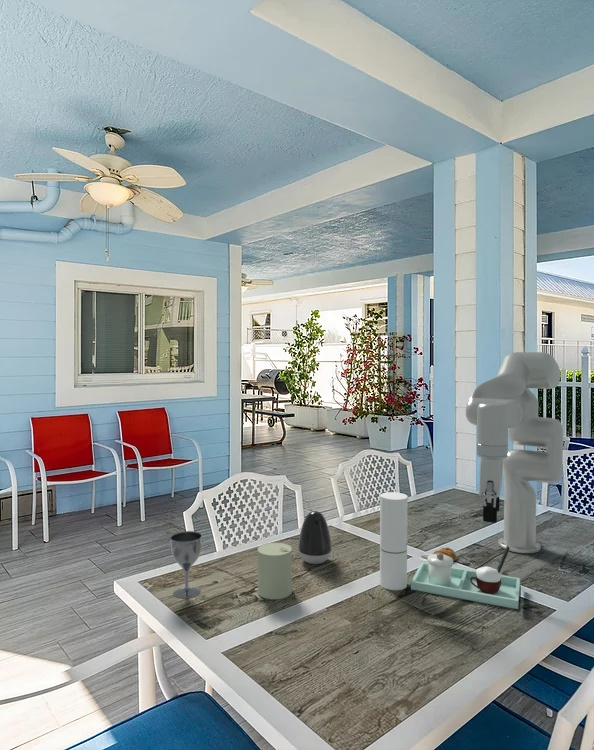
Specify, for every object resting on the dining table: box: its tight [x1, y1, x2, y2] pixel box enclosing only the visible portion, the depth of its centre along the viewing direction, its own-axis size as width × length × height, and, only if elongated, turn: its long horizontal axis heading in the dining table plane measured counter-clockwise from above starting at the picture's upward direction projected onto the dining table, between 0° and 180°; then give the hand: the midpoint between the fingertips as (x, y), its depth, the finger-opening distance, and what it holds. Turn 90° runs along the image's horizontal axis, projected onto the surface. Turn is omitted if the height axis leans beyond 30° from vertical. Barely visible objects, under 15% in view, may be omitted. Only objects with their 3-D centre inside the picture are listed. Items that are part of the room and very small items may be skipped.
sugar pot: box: [427, 553, 454, 587], centre depth 142 cm, size 7×7×8 cm
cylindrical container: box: [379, 491, 408, 591], centre depth 140 cm, size 7×7×25 cm
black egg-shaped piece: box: [297, 510, 333, 565], centre depth 159 cm, size 10×10×15 cm
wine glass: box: [170, 530, 203, 600], centre depth 138 cm, size 8×8×15 cm
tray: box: [410, 561, 521, 610], centre depth 139 cm, size 14×26×3 cm, turn 66°
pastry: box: [432, 547, 459, 562], centre depth 157 cm, size 9×7×4 cm
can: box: [256, 542, 293, 600], centre depth 139 cm, size 9×9×12 cm
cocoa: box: [470, 546, 510, 594], centre depth 136 cm, size 10×6×12 cm, turn 57°
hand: (491, 515), depth 136 cm, fingers open, 9 cm apart
